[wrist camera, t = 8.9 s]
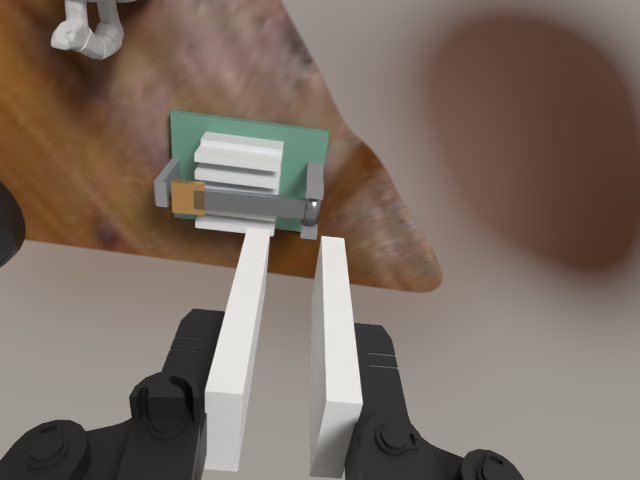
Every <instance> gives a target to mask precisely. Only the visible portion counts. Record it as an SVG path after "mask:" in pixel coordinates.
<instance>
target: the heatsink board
mask: <svg viewBox="0 0 640 480" xmlns="http://www.w3.org/2000/svg"><path fill="white" fill-rule="evenodd" d="M170 119H171V144H172V159H171V160H170V161H169V162H168V164H167V165H166V166H165V168H164V169H163V170H162V172H161V173H160V174H159V175H158V177H157V178H156V179H155V181H154V196H155V205H156V206H159V207H168V205H169V203H168V198H169V197H170V195H171V193H172V192H171V181H172V180H173V179H177V180H188V181H198V182H206V188H211V189H221V190H231V191H242V192H252V193H263V194H273V195H284V196H294V197H305V195H306V198H311V199H319V200H323V195H324V184H323V170H324V164H325V157H326V151H327V144H328V137H329V130H323V129H315V128H308V127H300V126H293V125H285V124H278V123H270V122H263V121H255V120H247V119H240V118H232V117H225V116H217V115H210V114H202V113H195V112H187V111H180V110H172V111H171V112H170ZM174 217H175V218H184V219H193V220H195V228H203V229H212V230H221V231H229V232H238V233H246V232H247V228H255V229H264V230H271V231H270V236H274V230H275V229H281V230H290V231H299V232H301V235H300V238H306V239H315V240H316V239H317V233H318V231H317V224H316V225H307V224H304V223H303V222H302V219H299V218H288V217H277V216H266V215H254V214H243V213H232V212H221V211H210V210H206V212H205V215H193V214H182V213H174Z"/></svg>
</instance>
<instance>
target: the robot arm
mask: <svg viewBox="0 0 640 480" xmlns="http://www.w3.org/2000/svg"><path fill="white" fill-rule="evenodd" d="M270 231H271V230H264V229H255V228H247V232H246V235H245V239H244V243H243V247H242V251H241V255H240V258H239V262H238V266H237V271H236V274H235V278H234V281H233V285H232V289H231V293H230V297H229V301H228V305H227V308H226V312H224V311H213V310H203V309H193V310H192V311H191V312H190V313H188V314H187V315H186V316H185V317H184V318H183V319H182V320H181V322H180V325H179V327H178V330H177V333H176V335H175V338H174V340H173V343H172V345H171V349H170V351H169V353H168V356H167V359H166V361H165V364H164V366H163V369H162V372H158V373H156V374H153V375H151V376H149V377H146V378H145V379H143V380H142V381H141V382H140V383H139V384H138V385H136V386H135V388H134V389H133V391H132V393H131V395H130V396H129V399H130V408H131V415H132V418H131V419H129V420H127V421H125V422H123V423H120V424H117V425H113V426H109V427H105V428H100V429H95V430H90V431H85V430H84V429H83V428H82V426H81V425H80V424H77V423H75V422H73V421H71V420H54V421H50V422H46V423H42V424H40V425H38V426H37V427H35V428H33V429H31V430H29V431H28V432H26V433H25V434H24V435H23V436H22V437H21V438H20V439H18V440H17V441H16V442H15V443H14V445H13V446H12V447H11V448H10V449H9V451H8V452H7V453H6V454H5V456H4V457H3V458H2V459H1V460H0V480H201V476H202V472H203V468H204V464H205V469H208V470H223V471H238V466H239V459H240V453H241V446H242V439H243V433H244V426H245V420H246V413H247V407H248V400H249V394H250V387H251V381H252V373H253V368H254V361H255V355H256V348H257V341H258V335H259V328H260V322H261V315H262V309H263V302H264V296H265V286H266V275H267V264H268V253H269V242H270ZM24 237H25V223H24V219H23V215H22V213H21V210H20V208H19V206H18V204H17V202H16V201H15V199H14V197H13V196H12V195H11V193H10V192H9V191H8V190H7V188H6V187H5V186H4V185H3V184H2V183H1V182H0V267H2V266H3V265H4V264H6V263H7V262H8V261H9V260H10V259H11V258H12V257H13V256H14V255H15V254H16V253H17V252H18V251H19V250H20V248H21V246H22V244H23V241H24ZM397 367H398V366H397V362H396V357H395V353H394V348H393V343H392V339H391V338H390V336H389V335H388V334H387V332H386V331H385V329H384V328H383V327H382V326H381V325H370V324H360V323H354V322H353V313H352V304H351V295H350V287H349V278H348V269H347V260H346V251H345V243H344V238H335V237H326V236H322V237H321V243H320V249H319V255H318V261H317V267H316V273H315V280H314V286H313V292H312V298H311V399H310V401H311V402H310V476H315V477H330V478H342V475H343V471H344V468H345V480H524V479H523V477H522V476H521V474H520V473H519V471H518V470H517V469H516V467H515V466H514V465H513V464H512V463H510V462H509V461H508V460H507V459H506V458H504V457H503V456H501V455H499V454H497V453H495V452H493V451H490V450H482V449H477V450H474V451H471V452H469V453H468V454H467V455H466V456H465V457H464V458H462V457H460V456H457V455H455V454H452V453H450V452H447V451H444V450H442V449H439V448H437V447H435V446H433V445H431V444H430V443H428V442H427V441H426V440H424V439H423V438H422V437H421V436H420V434H419V432H418V431H417V430H416V429H415V427H414V426H413V425H412V424H411V423H410V420H409V417H408V413H407V408H406V404H405V399H404V394H403V390H402V385H401V380H400V376H399V371H398V370H397Z"/></svg>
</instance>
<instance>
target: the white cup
mask: <svg viewBox="0 0 640 480" xmlns="http://www.w3.org/2000/svg"><path fill="white" fill-rule="evenodd" d="M133 1H137V0H65V12H66V21H64V22H62V23H60V25H59V26H58V27H57V29H56V30H55V31H54V32H53V34H52V38H51V46H52V47H53V48H56V49H61V50H69V49H71V50H74V51H77V52H79V53H81V54H83V55H86V56H88V57H90V58H91V59H101V60H102V59H105V58H107V57H109V56H111V55H112V54H115V53H116V52H117V51H118V50H119V48H120V47H121V45H122V39H123V37H124V31H123V27H122V25H121V23H120V19H119V16H118V12H117V5H116V2H120V3H127V2H133ZM87 2H97V6H98V12H99V16H100V23H98V25H97V28H96V31H95V32H94V33H93V32H92V30H91V29H90V28H89V27H88V19H87Z"/></svg>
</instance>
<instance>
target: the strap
mask: <svg viewBox="0 0 640 480" xmlns="http://www.w3.org/2000/svg"><path fill="white" fill-rule="evenodd" d="M171 192H172V213H182V214H193V215H205V212H206V210H210V211H221V212H232V213H243V214H254V215H266V216H277V217H288V218H299V219H302V222H303V223H304V224H307V225H316V224H317V223H318V219H319V212H320V206H321V200H319V199H311V198H306V195H305V197H294V196H284V195H273V194H263V193H252V192H242V191H231V190H221V189H211V188H206V182H198V181H188V180H177V179H173V180H172V181H171Z"/></svg>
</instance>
